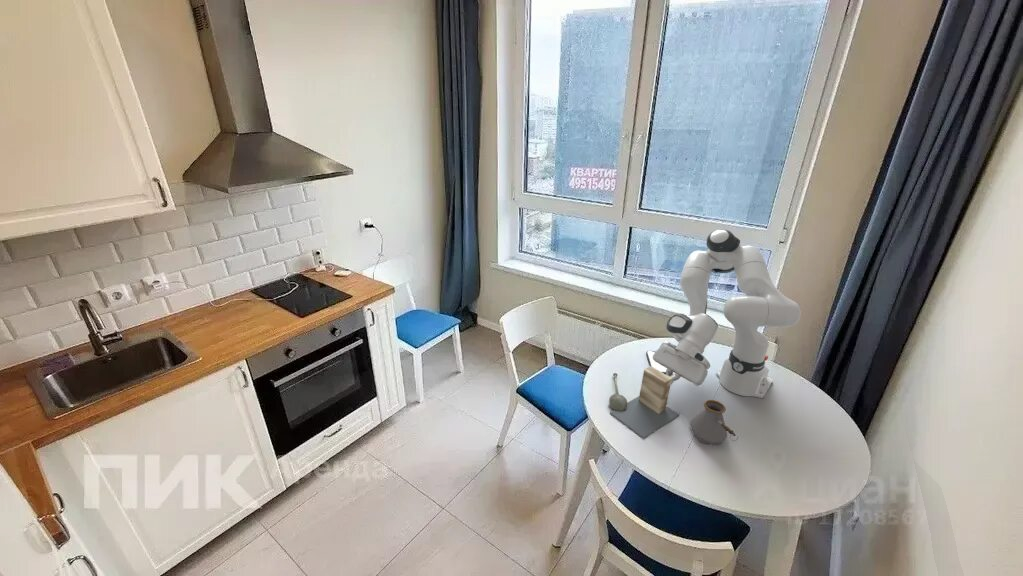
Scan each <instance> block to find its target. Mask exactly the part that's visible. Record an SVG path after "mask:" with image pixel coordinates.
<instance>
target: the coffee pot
mask: <svg viewBox="0 0 1023 576" xmlns="http://www.w3.org/2000/svg"><path fill="white" fill-rule="evenodd" d="M703 406H704V408H703V410H702V411H700V412H699V413H698V414H697V415H696V416H695V417H694V418H693V419H692V420H691V422H690V424H689V425H690V429H691V432H692V434H693V435H694V436H695V437H696V438H697V439H698V440H699V441H700V442H702V443H704V444H708V445H718V444H722V443H723V442H725V441H726V440H727V438H728V433H729V435H730V436H729V438H730V440H731V441H733V442H735V441H737V440H738V439H739V436H738V435H737V434H736V433H735V432H734V430H733V429H731V428H730V427H729V426H727V425H726V422H725V419H724V415H723V414H724V413H725V412H726V410H727V408H726V406H725V405H724V404H723V403H722V402H720V401H718V400H715V399H707V400H705V402H704V404H703ZM732 436H733V437H735V436H736V437H737V438H736V439H734V440H733V439H732V438H731V437H732Z"/></svg>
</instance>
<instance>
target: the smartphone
mask: <svg viewBox="0 0 1023 576" xmlns="http://www.w3.org/2000/svg"><path fill="white" fill-rule="evenodd" d="M656 351H657V350H647V351H646V352H645V354H646V357H647V361H648V365H649V367H650V366H652V367H654V368H655V369H657V370H659V371H660V372H662V373H664V374H665V375H666V370H667V368H665V367H664V366H662V365H660V364H659V363H657V362H655V361H654V360H653V354H654V353H655V352H656ZM673 374H674V372H672V373H671V374H670V373H669V376H673Z"/></svg>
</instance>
